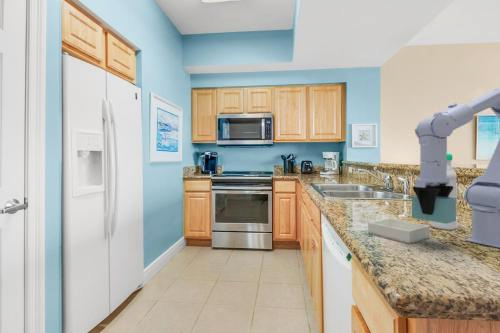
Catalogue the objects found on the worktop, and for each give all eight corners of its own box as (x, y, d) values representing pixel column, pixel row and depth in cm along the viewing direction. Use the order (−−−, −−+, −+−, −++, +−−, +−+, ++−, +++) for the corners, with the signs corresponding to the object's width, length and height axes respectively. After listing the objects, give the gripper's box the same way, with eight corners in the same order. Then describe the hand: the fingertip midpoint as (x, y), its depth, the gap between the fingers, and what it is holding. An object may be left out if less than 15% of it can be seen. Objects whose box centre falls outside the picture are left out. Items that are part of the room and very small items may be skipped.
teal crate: (421, 215, 72) (422, 194, 72) (455, 220, 65) (456, 197, 65) (411, 217, 69) (411, 196, 69) (446, 223, 62) (446, 199, 62)
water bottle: (461, 230, 81) (462, 153, 80) (436, 229, 82) (437, 153, 82) (449, 225, 88) (449, 153, 87) (426, 224, 89) (426, 154, 89)
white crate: (388, 228, 84) (388, 218, 84) (429, 237, 74) (429, 225, 74) (368, 233, 79) (368, 222, 79) (409, 244, 68) (409, 231, 68)
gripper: (429, 162, 74) (429, 207, 75) (403, 162, 67) (403, 213, 67) (458, 162, 68) (458, 211, 69) (433, 162, 61) (433, 218, 61)
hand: (433, 212), depth 67 cm, fingers closed on teal crate, 6 cm apart
